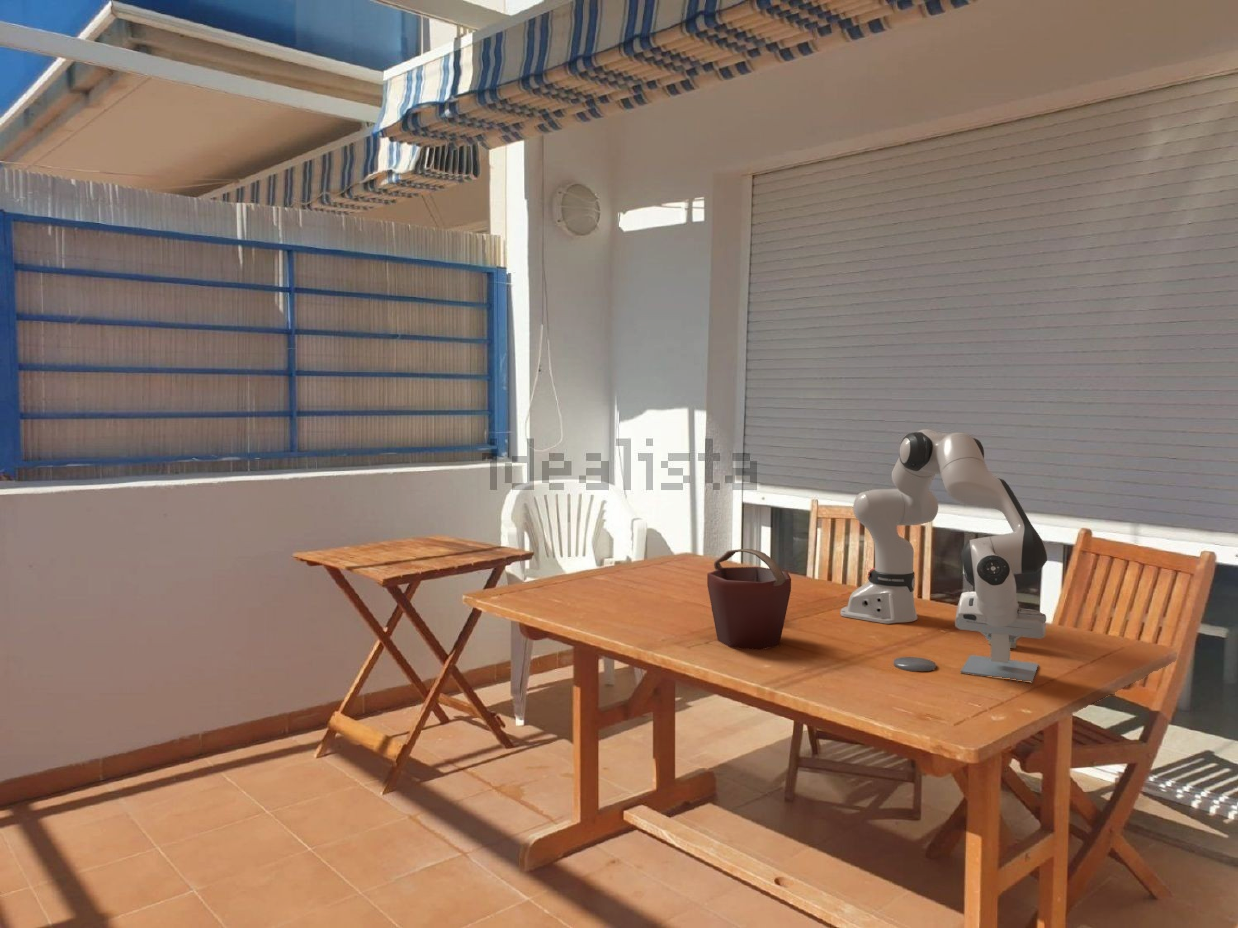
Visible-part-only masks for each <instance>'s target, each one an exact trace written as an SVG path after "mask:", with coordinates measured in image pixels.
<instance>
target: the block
mask: <svg viewBox="0 0 1238 928" xmlns="http://www.w3.org/2000/svg"><path fill="white" fill-rule="evenodd" d="M1009 638H1010V635H1004V634H996V633H991V645H990V657H991V661H995V662H1003V663H1008V662H1009V660H1011V649H1010V645H1011V642H1010V640H1009Z"/></svg>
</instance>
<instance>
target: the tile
mask: <svg viewBox="0 0 1238 928" xmlns="http://www.w3.org/2000/svg"><path fill="white" fill-rule="evenodd" d="M1037 667H1038V668H1039V663H1037V662H1028V661H1020V660H1015V659H1014V660H1013V659H1010V660H1009V662H1008V663H1003V662H995V661H991V656H990V657H989V656H985V655H984V656H983V655H982V656H981V655H975V654H970V655H969V657H968V658H967V660H966V661H965V663H964V665H963V666H962V668H961V669H960V671H959V672H961V673H966V674H965V675H968V673H969V674H974V675H973V676H975V675H981V676H980V677H982V676H992V677H1002V678H1010V679H1016V680H1022V681H1031V682H1032V681H1033V682H1034V680H1033V679H1035V677H1036V674H1037V671H1038V668H1037ZM1036 670H1037V671H1036ZM961 673H960V674H961ZM1035 673H1036V674H1035ZM1034 676H1035V677H1034Z"/></svg>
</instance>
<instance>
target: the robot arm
mask: <svg viewBox="0 0 1238 928" xmlns="http://www.w3.org/2000/svg"><path fill="white" fill-rule="evenodd" d="M898 453H899V455H898V459H897V461H896V462H895V465H894V467H893V469H892V471H891V481H892V483H893V485H894V486H895V487H896V488H881V489H880V488H879V489H878V488H877V489H876V488H875V489H870V490H866V491H862V492H859V493H858V494H857V495H856V497H855V499H854V500H853V501H854V502H853V507H852V508H853V509H852V511H853V514H854V516H855V518H856V520H857V521H858V522H859V523H860V524H861V525H862V526H863V527H864V528H866V529H867V530H868V531H867V532H868V533H869V534H870V536H871V538H872V541H873V547H874V559H875V560H874V564H875V565H874V567H872V568H871V569H870V570H869V571H868V572H867V579H868V580H867V581H866V582H865V583H863V584H862V585H860V587H857V589H855V590H854V591H853V592H852V593H850V596H849V598H848V603H847V605H846V606H844V607H842V608H841V609H840V616H841V617H843V618H844V617H845V618H850V619H855V620H856V619H857V620H863V621H868V622H874V623H881V624H889V625H890V624H897V623H910V622H914V621H917V620H918V614H917V611H916V605H915V597H914V596H915V594H914V591H915V588H916V587H915V586H916V577H915V576H916V575H915V572H914V559H915V558H914V553H915V550H914V547H913V545H912V543H911V542H910V541H909V540H907V539H906V538H903V537H901V536H900V535H899V533H898V526H919V525H923V524H927V523H931V522H932V521H934V520H935V518H936V517H937V515H938V511H939V502H938V499H937V497H936V495H935V494H934V493H933V492H932V491H930V487H931V484H932V482H933V480H934V478H935V476H936V475H940V477H941V479H942V480H941V481H942V483H943V486H944V489H945V490H946V493H947V495H948V496H949V497H950V498H952V499H953V500H955V501H956V502H958V503H960V504H964V505H968V506H969V505H970V506H978V507H979V506H981V507H987V508H992V509H995V510H998V511H1000V512H1001V514H1002V515H1003V516H1004V517H1005V519H1006V520H1007V523H1008V524H1009V527H1010V529H1011V530H1012V532H1009V533H1004V534H1003V533H1002V534H998V535H992V536H991V535H990V536H984V537H979V538H973V539H968V540H967V541H966V543H964V545H963V547H962V549H961V551H960V556H961V561H962V567H963V574H964V577H965V580H966V582H968V583H969V585H971V587H973V588H974V591H964V592H962V593H961V594H960V597H959V599H958V600H959V601H958V604H957V607H956V612H955V620H954V625H955V628H957V629H958V630H962V631H972V632H980V633H981V634H982V635H983V636H984V637H985V640H988V639H989V640H991V633H996V634H1004V635H1010V638H1009V640H1010V642H1013V643H1016V644H1017V642H1016V640H1018V639H1020V638H1021V637H1022V638H1030V639H1038V640H1040V639H1041V640H1042V639H1043V638H1045V636H1046V631H1047V630H1046V629H1047V625H1046V624H1047V623H1046V622H1047V615H1046V613H1042V612H1040V611H1039V610H1036V609H1031V608H1022V607H1019V608H1018V604H1019V603H1018V597H1017V583H1016V578H1015V575H1019V574H1021V575H1025V574H1036V573H1038V572H1039V571H1041V569H1042V568H1043V567H1044V566H1045V565H1046V563H1047V561H1048V551H1047V547H1046V545H1045V544H1046V543H1045V542H1044V540H1043V538H1041V536H1040V535H1039V533H1038V532H1037V530H1036V529H1035V527H1034V526H1033V524H1032V523H1031V521H1030V519H1029V518H1028V516H1027V514H1026V512H1025V510H1024V508H1023V507H1022V505H1021V504H1020V502H1019V500H1018V499H1017V496H1016V494H1015V493H1014V491H1013V490H1012V488H1011V486H1010V485H1009V484H1008V483H1007V482H1006V480H1005V479H1002V478H999V477H997V476H995V475H993V474H992V473H991V472H990V471H989V470H988V467H987V464H986V462H985V450H984V446H983V444H982V443H981V441H980V440H979V439H977V438H975V437H973V436H971V435H970V434H969V433H965V432H960V431H959V432H952V433H947V432H942V433H940V432H937V431H935V430H933V429H927V428H925V429H920V430H918V431H915V432H910V433H907V434H906V435H905V436H904V437H903V439H902V440H901V443H900V445H899V452H898Z"/></svg>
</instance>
